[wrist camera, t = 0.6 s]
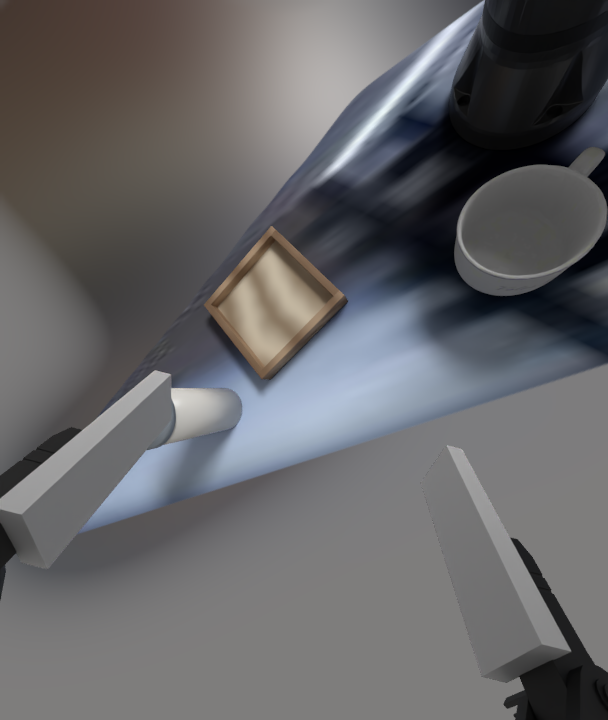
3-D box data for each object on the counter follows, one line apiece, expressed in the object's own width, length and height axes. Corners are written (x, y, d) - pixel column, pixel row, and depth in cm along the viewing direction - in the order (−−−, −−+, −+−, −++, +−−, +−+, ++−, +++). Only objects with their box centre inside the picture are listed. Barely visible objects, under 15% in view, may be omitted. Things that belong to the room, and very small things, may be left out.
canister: (219, 379, 43) (139, 375, 30) (250, 401, 41) (177, 407, 28) (200, 415, 44) (114, 427, 31) (230, 439, 42) (150, 463, 28)
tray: (279, 234, 42) (271, 225, 40) (348, 301, 37) (344, 295, 35) (214, 309, 45) (203, 304, 43) (270, 379, 40) (261, 379, 38)
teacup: (488, 323, 31) (514, 303, 24) (427, 258, 34) (433, 221, 27) (614, 239, 28) (691, 185, 20) (534, 175, 31) (575, 108, 23)
